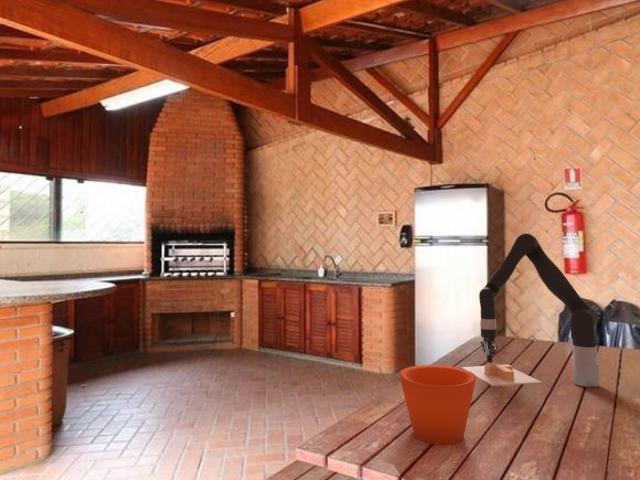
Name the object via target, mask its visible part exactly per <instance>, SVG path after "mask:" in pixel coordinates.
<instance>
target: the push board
mask: <svg viewBox="0 0 640 480" xmlns="http://www.w3.org/2000/svg"><path fill="white" fill-rule="evenodd" d="M461 369H464V370H467V371H470V372H472V373H473V374H475V375H476V378H479V379H481V380H482V381H484V382H485V383H487V384H489V387H497V386H498V387H499V386H516V385H517V386H518V385H529V384H530V385H531V384H534V383H535V384H542V381H541V380H539V379H536V378H535V377H532V376H530V375H527V374H526V373H524V372H521V371H519V370H517V369H515V368H513V367H512V369H513V371H514V380H508V381H506V380H504V379H502V378H500V377H498V376H488V375H486V374H485V365H478V366H476V365H475V366H461Z"/></svg>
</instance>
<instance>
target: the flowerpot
mask: <svg viewBox="0 0 640 480" xmlns="http://www.w3.org/2000/svg"><path fill="white" fill-rule="evenodd" d="M398 375H399V379H400V384H401V387H402V392H403V395H404V400H405V404H406V409H407V412H408V416H409V420H410V425H411V427H412V431H413V435H414V437H415V438H417V439H418V440H420V441H422V442H424V443H428V444H431V445H437V446H448V445H449V446H450V445H455V444H458V443H460V442H462V441H463V440H464V437H465V432H466V429H467V428H466V427H467V423H468V418H469V415H470V409H471V404H472V399H473V395H474V392H475V390H474V389H475V386H476V381H477V376H476V375H475V374H473V373H472V372H470V371H467V370H465V369H464V368H462V367H461V368H460V367H454V366H449V365H440V364H439V365H438V364H422V365H413V366H408V367H405V368H403V369H401V370H400V371H399V374H398Z"/></svg>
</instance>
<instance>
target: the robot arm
mask: <svg viewBox="0 0 640 480" xmlns="http://www.w3.org/2000/svg"><path fill="white" fill-rule="evenodd" d="M524 257H527V258H528V260H529V261H530V262H531V263H532V265H533V266H534V267H535V270H536V273H537V274H538V276H539V278H540V280H541V282H543V284H544V285H545V286H546V287H547V289H548V291H550V293H551V294H553V295H554V296H555V298H557V299H558V300H559V301H560V302H562V303H563V304H564V305H565V307H567V309H568V310H569V312H570V314H571V315H570V325H569V326H570V336H571V337H570V338H571V340H572V367H573V369H572V370H573V371H572V372H573V384H575V385H577V386H581V387H584V388H585V387H586V388H596V387H597V388H599V387H600V370H599V369H600V368H599V364H598V360H597V359H598V352H597V348H598V345H597V340H596V337H595V327H596V326H597V324H598V316H597V314H596V312H594V310H593V309H592V308H590V306H589V305H588V304H587V303H586V302H585V301H584V299H582V298H581V296H580V295H579V294H578V292H577V291H576V289H575V288H574V286H573V285H572V283H570V281H569V280H568V279H567V277H566V276H565V275H564V273H563V272H562V270H561V269H560V268H559V267H558V266H557V265H556V264H555V263H554V262H553V260H551V258H550V257H548V255H547V254H546V252H545V251H544V250H543V247H542V246H541V244H540V243H539V241H538V239H537V238H536V236H534V235H532V234H531V233H526V232H525V233H522V234H519V235H518V236H517V237H516V239H515V241H514V243H513V244H512V247H511V249H510V250H509V252H508V254H507V256H506V257H505V258H504V260H503V261H502V262H501V264H500V265H499V267H498V268H497V269H496V270H495V271H494V273H493V274H492V276H491V277H490V279H489V281H488V282H487V283H486V284H485V286H484V287H483V288H482V289H481V290H480V291H479V293H478V299H479V300H478V301H479V305H480V306H479V307H480V337H481V338H482V341H480V344H481V348H482V350H483V352H484V353H485V355H486V362H487V363H493V356H494V355H495V354H496V353H497V350H498V348H499V347H498V345H497V344H495V343H496V341H495V339H496V338H497V336H498V335H497V334H498V333H497V332H498V331H497V319H496V309H495V298H496V296H497V295H498V294H499V292H500V290H501V289H502V288H503V287H504V286H505V284H506V283H507V282H508V280H509V279H510V278H511V277H512V275H513V274H514V272H515V269H516V268H517V266H518V264H519V263H520V262H521V260H522V259H523V258H524Z"/></svg>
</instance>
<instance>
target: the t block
mask: <svg viewBox="0 0 640 480" xmlns="http://www.w3.org/2000/svg"><path fill="white" fill-rule="evenodd" d="M484 366H485V374H486V375H488V376H498V377H500V378H502V379H504V380H506V381H508V380H514V371H513V369H514V368H513V366H512V365H510V364H508V363H507V364H505V363H504V364H491V365H490V364H488V365H486V364H485V365H484ZM512 368H513V369H512Z"/></svg>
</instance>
